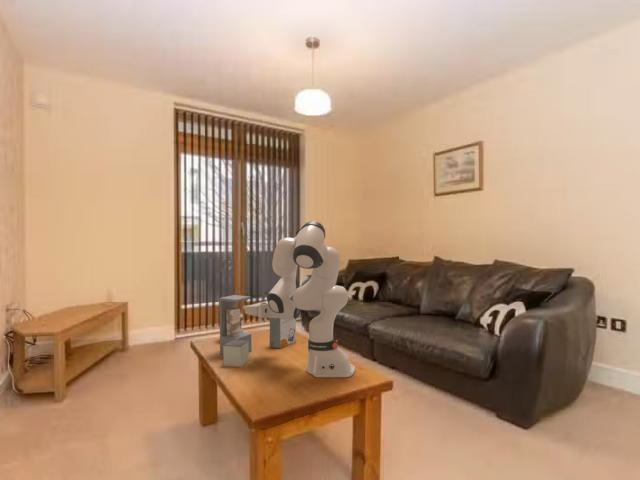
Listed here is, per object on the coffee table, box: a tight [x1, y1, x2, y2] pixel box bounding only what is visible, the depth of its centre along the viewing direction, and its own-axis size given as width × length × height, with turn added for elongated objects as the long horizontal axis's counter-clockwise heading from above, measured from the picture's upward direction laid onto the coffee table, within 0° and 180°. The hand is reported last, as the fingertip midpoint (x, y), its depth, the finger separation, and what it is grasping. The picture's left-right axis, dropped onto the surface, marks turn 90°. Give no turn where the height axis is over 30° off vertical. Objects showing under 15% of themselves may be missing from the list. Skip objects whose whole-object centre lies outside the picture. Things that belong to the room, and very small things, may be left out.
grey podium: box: [218, 294, 252, 356], centre depth 192 cm, size 12×11×30 cm
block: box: [226, 307, 241, 336], centre depth 193 cm, size 5×5×14 cm
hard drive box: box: [269, 318, 297, 349], centre depth 206 cm, size 16×8×20 cm, turn 148°
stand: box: [223, 340, 250, 368], centre depth 177 cm, size 9×9×10 cm
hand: (250, 305), depth 186 cm, fingers open, 8 cm apart
